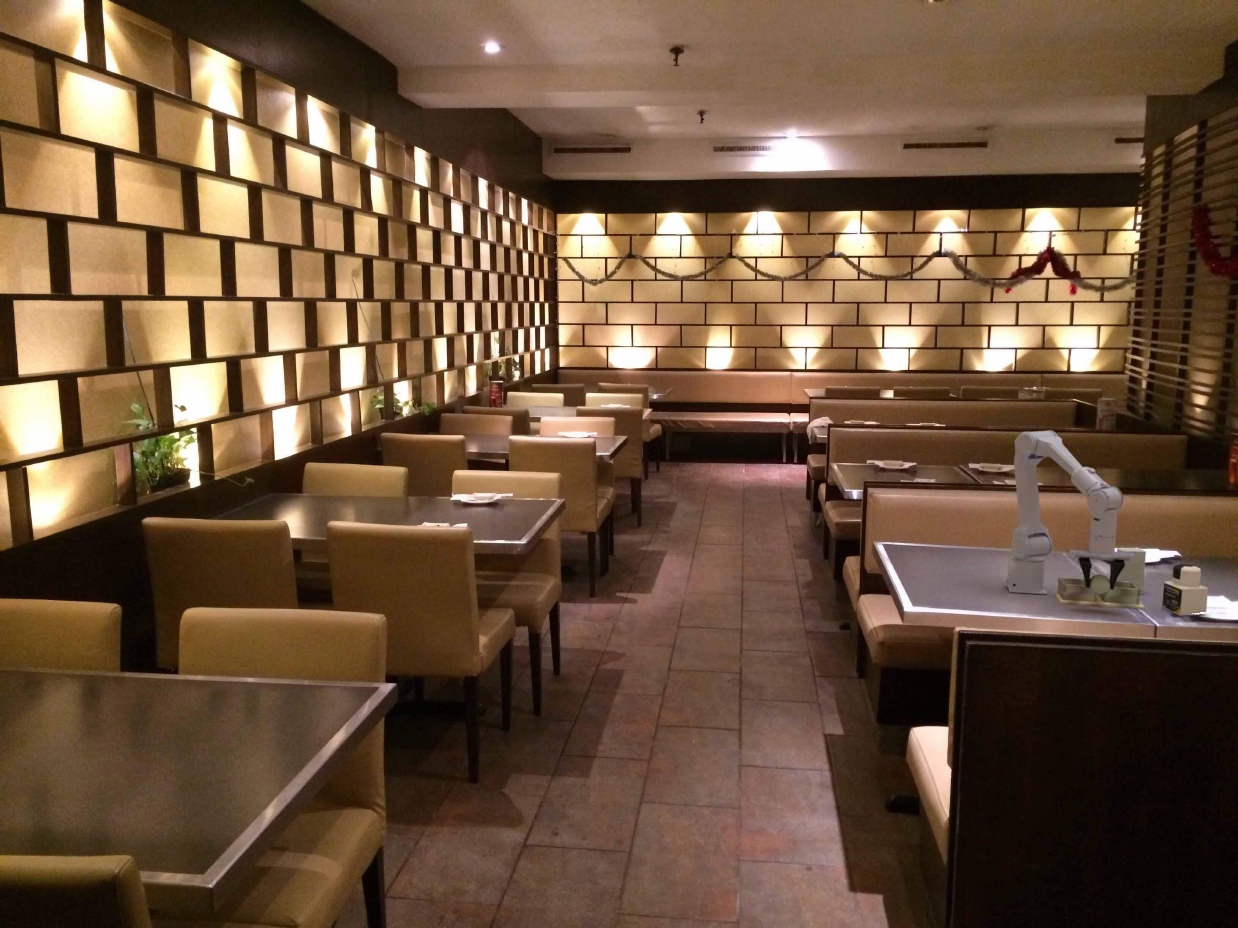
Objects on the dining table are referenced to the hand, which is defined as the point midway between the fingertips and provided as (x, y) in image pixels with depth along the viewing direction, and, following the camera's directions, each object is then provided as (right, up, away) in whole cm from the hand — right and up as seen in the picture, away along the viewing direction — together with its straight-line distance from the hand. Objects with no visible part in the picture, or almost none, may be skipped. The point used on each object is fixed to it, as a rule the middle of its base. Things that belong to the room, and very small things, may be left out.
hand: (1099, 587), depth 247 cm
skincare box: (+17, -4, +19) cm, 26 cm away
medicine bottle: (+22, -6, 0) cm, 22 cm away
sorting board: (+5, -5, +10) cm, 12 cm away
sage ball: (0, +1, 0) cm, 1 cm away
